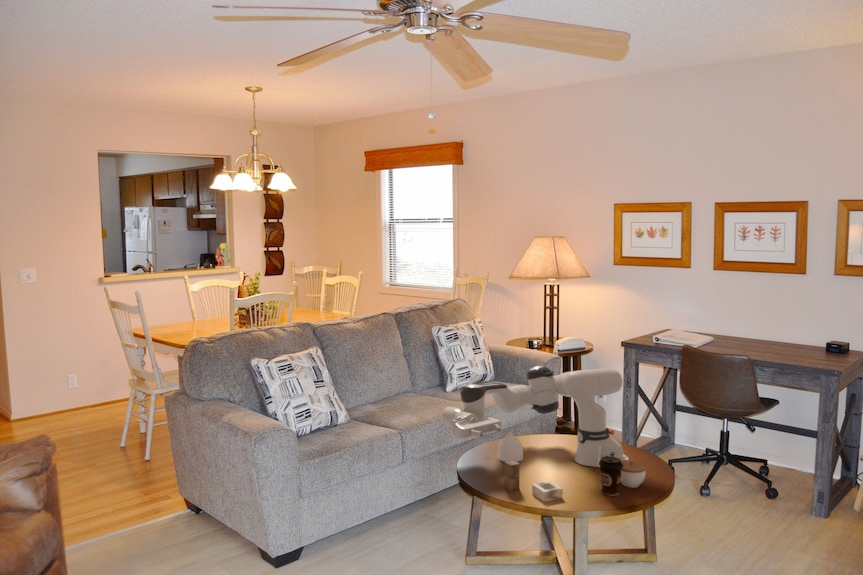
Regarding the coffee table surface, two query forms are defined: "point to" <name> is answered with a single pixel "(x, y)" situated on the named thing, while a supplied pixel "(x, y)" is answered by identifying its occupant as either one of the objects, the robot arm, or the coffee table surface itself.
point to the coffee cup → (610, 475)
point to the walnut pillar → (511, 475)
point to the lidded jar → (632, 473)
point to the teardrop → (510, 449)
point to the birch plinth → (547, 491)
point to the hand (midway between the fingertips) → (490, 432)
